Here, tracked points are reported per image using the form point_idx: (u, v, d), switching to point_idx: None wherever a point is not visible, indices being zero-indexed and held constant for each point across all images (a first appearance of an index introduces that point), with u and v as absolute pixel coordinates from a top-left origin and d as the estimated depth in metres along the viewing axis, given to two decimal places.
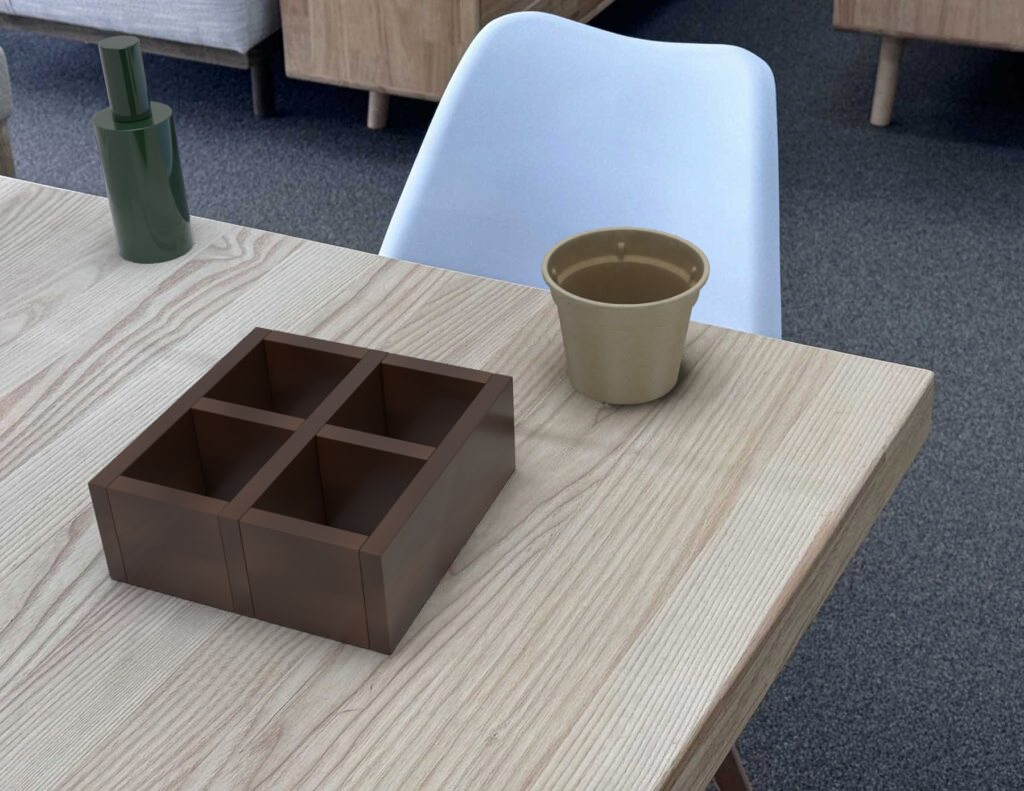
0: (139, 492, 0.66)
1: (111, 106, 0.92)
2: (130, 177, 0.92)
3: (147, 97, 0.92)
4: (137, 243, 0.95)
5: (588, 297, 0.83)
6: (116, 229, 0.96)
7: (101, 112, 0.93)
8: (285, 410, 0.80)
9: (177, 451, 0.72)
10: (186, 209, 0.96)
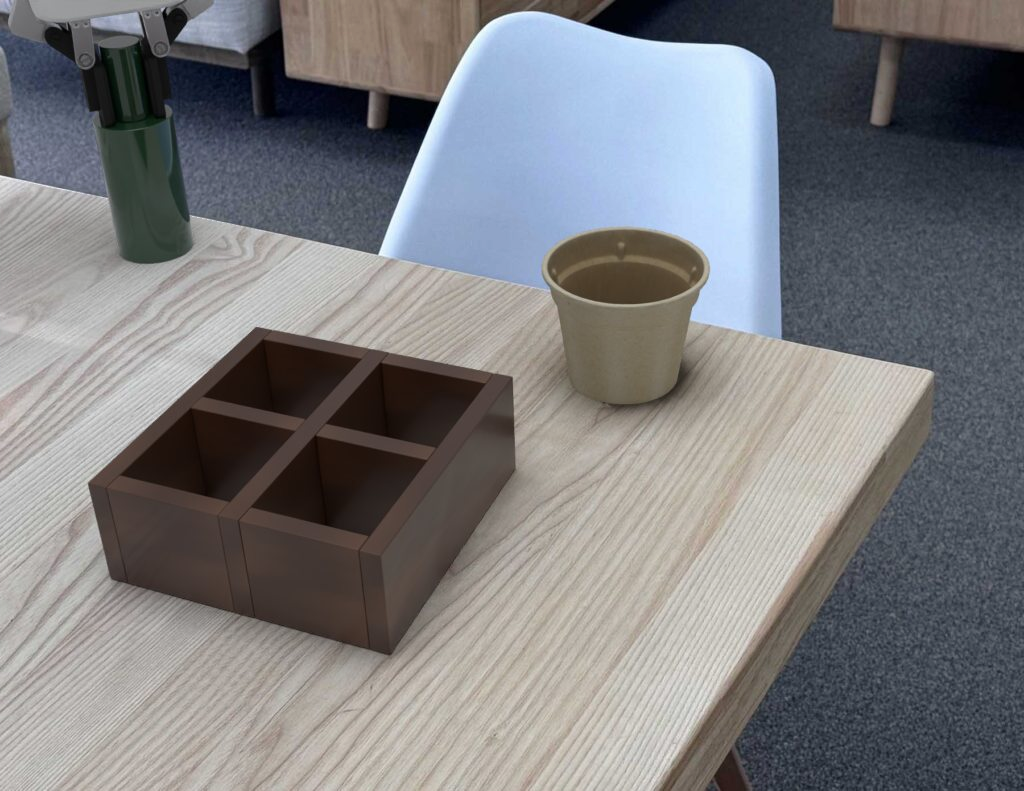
0: (139, 492, 0.66)
1: None
2: (130, 177, 0.92)
3: (147, 97, 0.92)
4: (137, 243, 0.95)
5: (588, 297, 0.83)
6: (116, 229, 0.96)
7: None
8: (285, 410, 0.80)
9: (177, 451, 0.72)
10: (186, 209, 0.96)
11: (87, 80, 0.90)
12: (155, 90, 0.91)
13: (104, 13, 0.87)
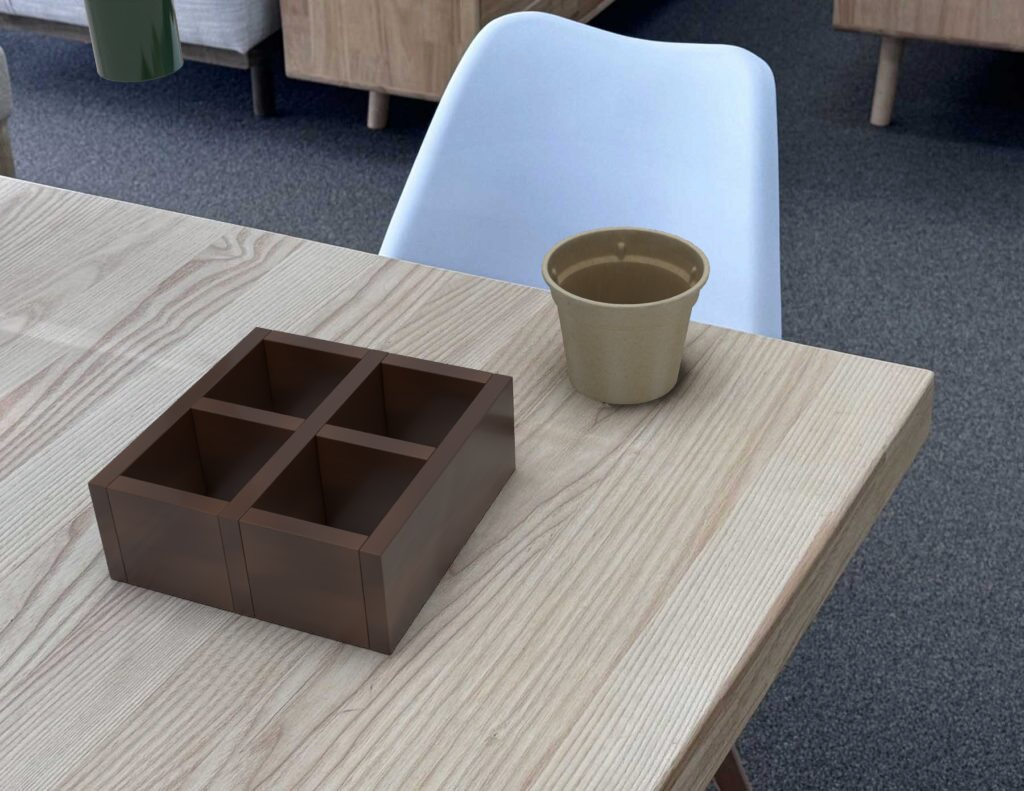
0: (139, 492, 0.66)
1: None
2: None
3: None
4: (115, 36, 0.82)
5: (588, 297, 0.83)
6: (90, 21, 0.83)
7: None
8: (285, 410, 0.80)
9: (177, 451, 0.72)
10: (171, 0, 0.84)
11: None
12: None
13: None
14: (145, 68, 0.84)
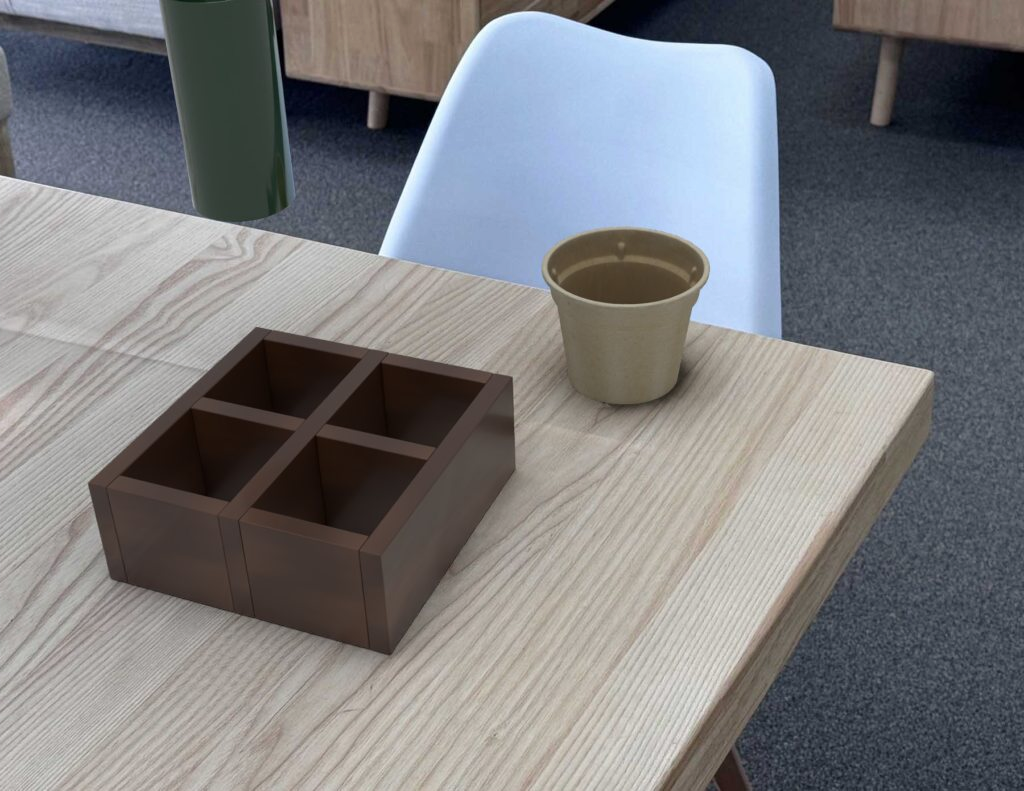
0: (139, 492, 0.66)
1: None
2: (211, 73, 0.65)
3: None
4: (218, 169, 0.68)
5: (588, 297, 0.83)
6: (188, 150, 0.68)
7: None
8: (285, 410, 0.80)
9: (177, 451, 0.72)
10: (285, 123, 0.69)
11: None
12: None
13: None
14: (253, 206, 0.69)
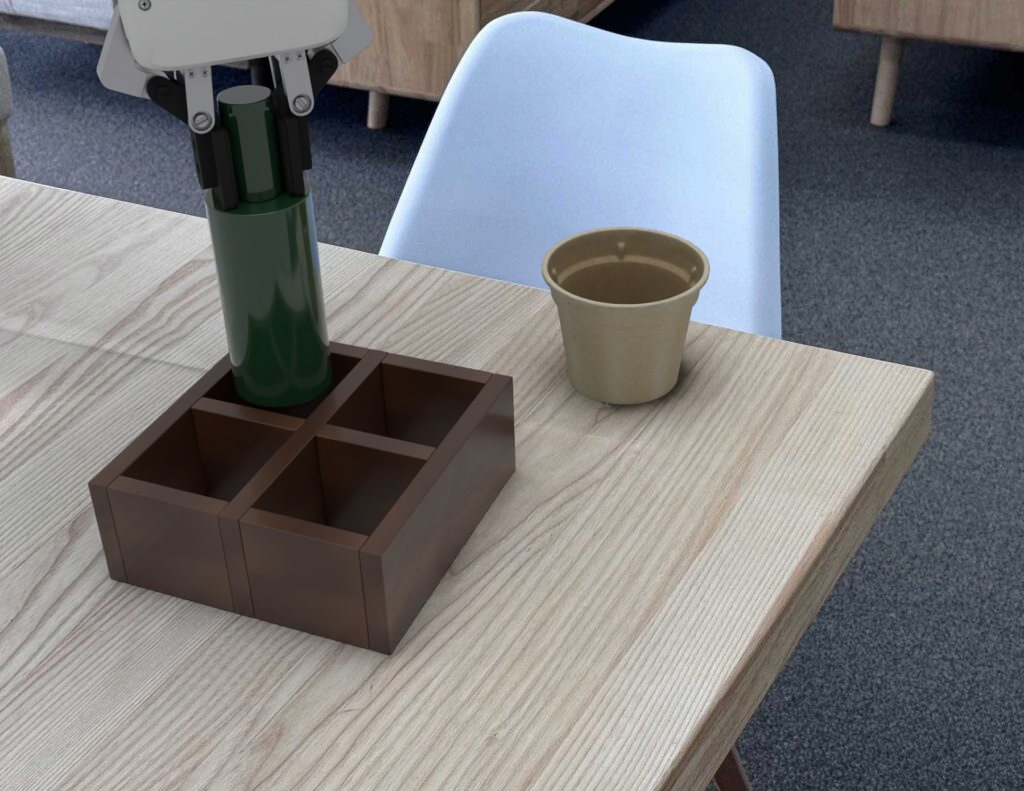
0: (139, 492, 0.66)
1: None
2: (255, 276, 0.68)
3: (280, 168, 0.68)
4: (260, 360, 0.71)
5: (588, 297, 0.83)
6: (231, 341, 0.71)
7: None
8: (285, 410, 0.80)
9: (177, 451, 0.72)
10: (324, 313, 0.72)
11: (202, 148, 0.66)
12: (292, 160, 0.67)
13: (231, 58, 0.63)
14: (293, 393, 0.72)
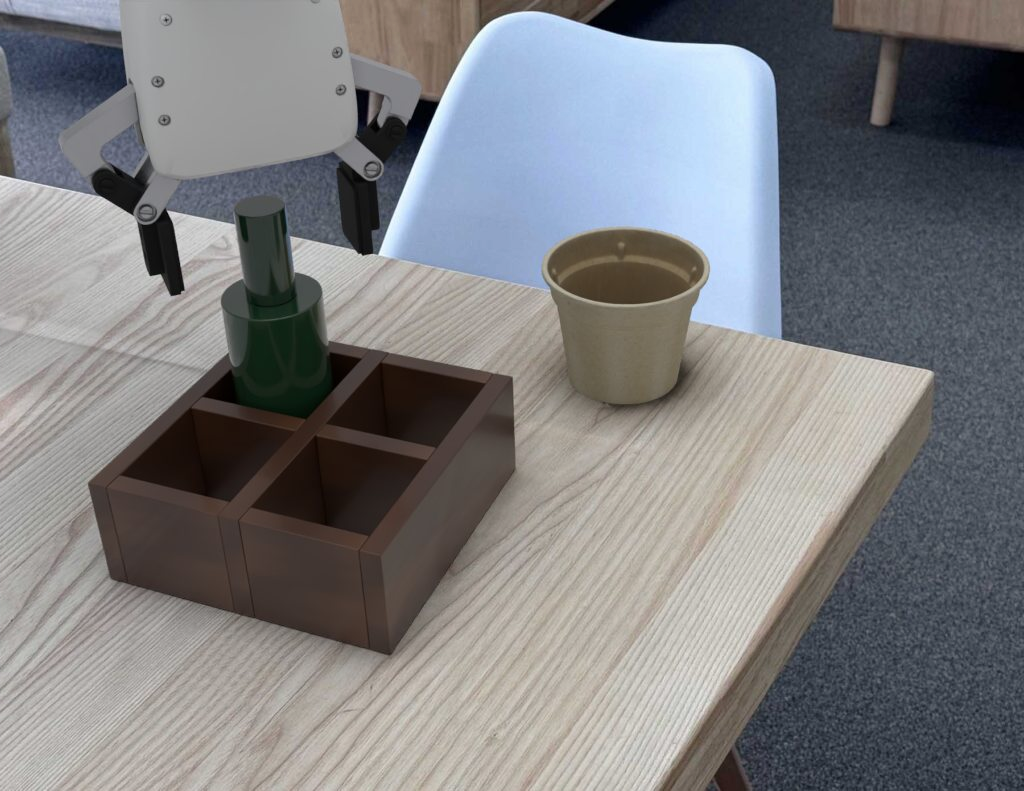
0: (139, 492, 0.66)
1: (246, 286, 0.71)
2: (269, 376, 0.71)
3: (293, 273, 0.71)
4: None
5: (588, 297, 0.83)
6: None
7: (230, 289, 0.72)
8: None
9: (177, 451, 0.72)
10: None
11: (148, 237, 0.67)
12: (362, 222, 0.70)
13: (245, 166, 0.66)
14: None
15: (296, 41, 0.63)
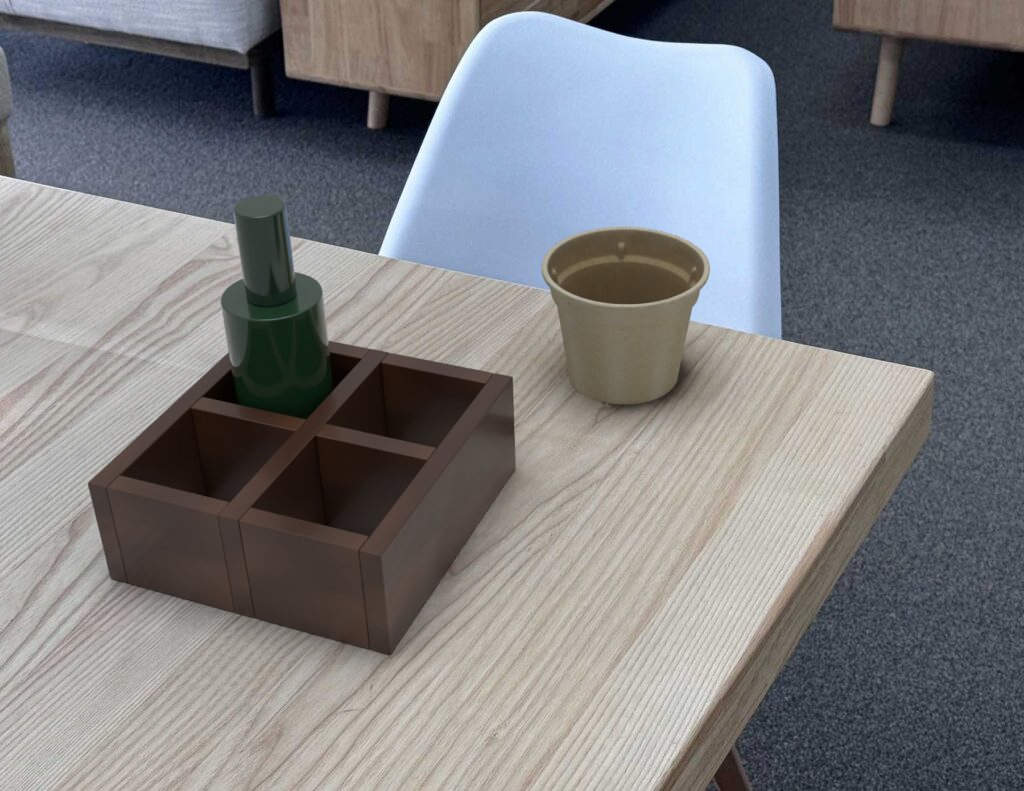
0: (139, 492, 0.66)
1: (246, 286, 0.71)
2: (269, 376, 0.71)
3: (293, 273, 0.71)
4: None
5: (588, 297, 0.83)
6: None
7: (230, 289, 0.72)
8: None
9: (177, 451, 0.72)
10: None
11: None
12: None
13: None
14: None
15: None
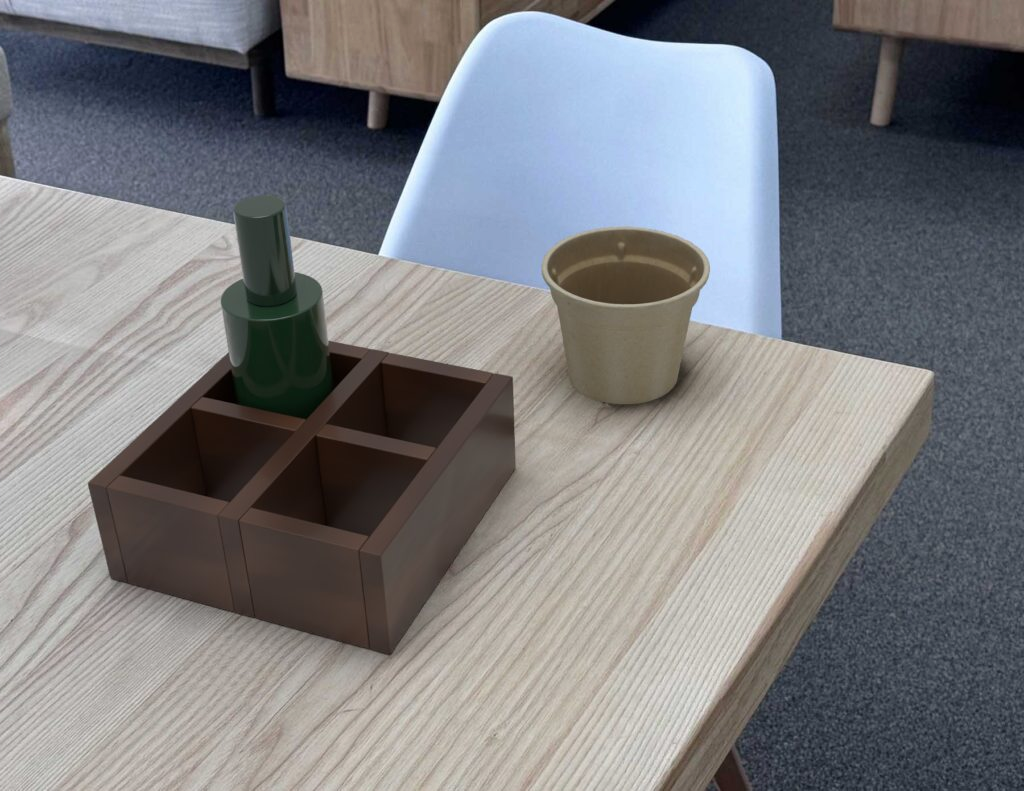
0: (139, 492, 0.66)
1: (246, 286, 0.71)
2: (269, 376, 0.71)
3: (293, 273, 0.71)
4: None
5: (588, 297, 0.83)
6: None
7: (230, 289, 0.72)
8: None
9: (177, 451, 0.72)
10: None
11: None
12: None
13: None
14: None
15: None
